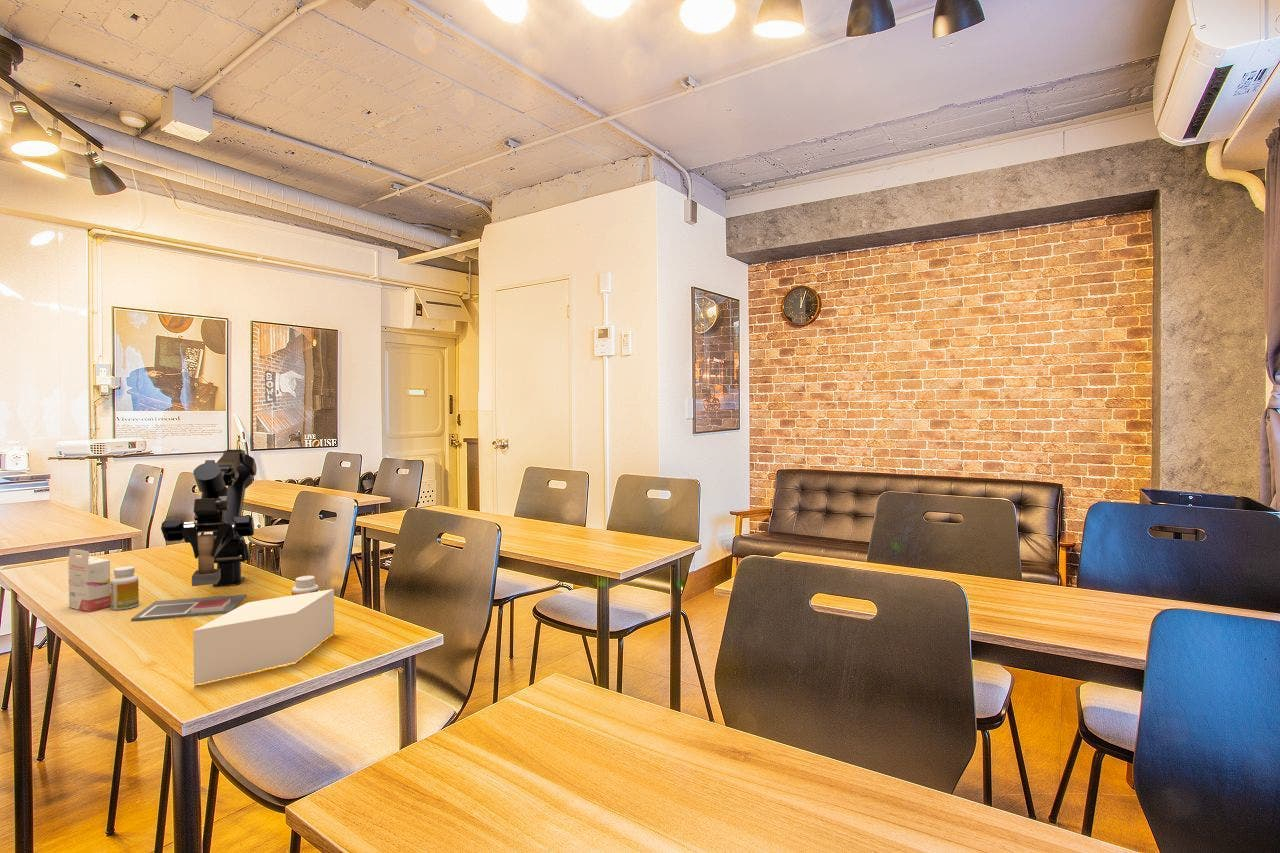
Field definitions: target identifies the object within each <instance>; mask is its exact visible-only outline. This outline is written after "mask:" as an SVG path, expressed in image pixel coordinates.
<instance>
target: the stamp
mask: <svg viewBox="0 0 1280 853" xmlns="http://www.w3.org/2000/svg"><path fill="white" fill-rule="evenodd" d="M213 548H214V535H213V533H206V534H200V535H199V534H198V558H197V563H198V566H197V569H198V570H197V569H196V570H195V571H194V573H193V574H192V575H191V587H199V586H211V585H212V586H213V584H217V583H218V582H219V580H220V579H221V568H219V569H217V568H215V563H214V557H213V556H212V554H213Z"/></svg>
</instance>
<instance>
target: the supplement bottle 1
mask: <svg viewBox="0 0 1280 853" xmlns="http://www.w3.org/2000/svg"><path fill="white" fill-rule="evenodd" d="M135 569H136V568H135V566H134V565H133V566H132V565H130V566H120V567H116V568H114V569H113V575H114V576H115V577H112V578H110V593H111V607H110V609H111V610H112V611H121V610H123V609H124V610H130V609H132V608H133V609H134V608H136V607H137V606H139V604H140V600H139V599H140V597H139V595H140V594H139V593H140V592H139V591H140V590H139V577H138V575H136V574H135ZM129 608H130V609H129Z"/></svg>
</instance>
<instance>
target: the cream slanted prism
mask: <svg viewBox="0 0 1280 853" xmlns="http://www.w3.org/2000/svg"><path fill="white" fill-rule="evenodd" d="M192 631H193V632H192V633H193V638H192V639H193V686H194V685H195V684H198V683H204V682H208V681H212V680H217V679H223V678H226V677H232V676H236V675H241V674H245V673H249V672H253V671H258V670H262V669H265V668H269V667H274V666H278V665H283V664H287V663H292V662H296V661H297V660H299V659H300V658H301V657H303V656H304V655H305V654H306V653H308V652H309V651H311V650H312V649H313V648H314V647H316V646H317V645H318V644H320V643H321V642H322V641H323V640H325V639H326V638H327V637H329V636H330V635H331V634H333V633H334V634H335V589H334V588H331V589H326V590H319V591H318V592H312V593H305V594H299V595H293V596H292V595H287V596H280V597H275V598H268V599H262V600H256V601H255V600H254V601H249V602H246V603H244V604H242V605H240V606H237V607H236V608H235V609H234V610H232V611H230V612H228V613H224V614H223V615H220V616H219V617H217V618H215V619H213V620H211V621H209V622H208V623H205V624H204V625H201V626H200V627H198V628H195V629H193V630H192Z"/></svg>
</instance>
